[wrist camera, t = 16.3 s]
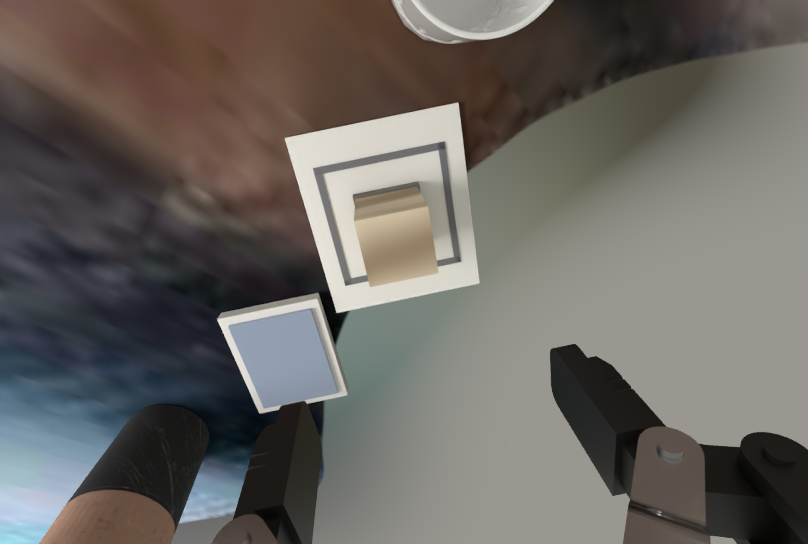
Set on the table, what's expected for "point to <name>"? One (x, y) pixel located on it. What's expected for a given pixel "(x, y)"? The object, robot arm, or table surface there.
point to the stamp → (394, 234)
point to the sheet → (380, 168)
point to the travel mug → (137, 482)
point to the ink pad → (285, 352)
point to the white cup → (467, 18)
